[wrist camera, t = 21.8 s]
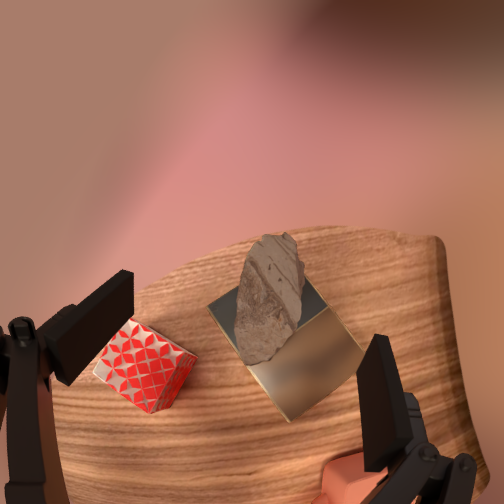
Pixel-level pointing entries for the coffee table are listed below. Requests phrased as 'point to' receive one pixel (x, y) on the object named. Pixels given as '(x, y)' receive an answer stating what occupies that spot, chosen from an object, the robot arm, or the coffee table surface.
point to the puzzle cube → (144, 366)
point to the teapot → (347, 481)
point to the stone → (268, 298)
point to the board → (299, 353)
